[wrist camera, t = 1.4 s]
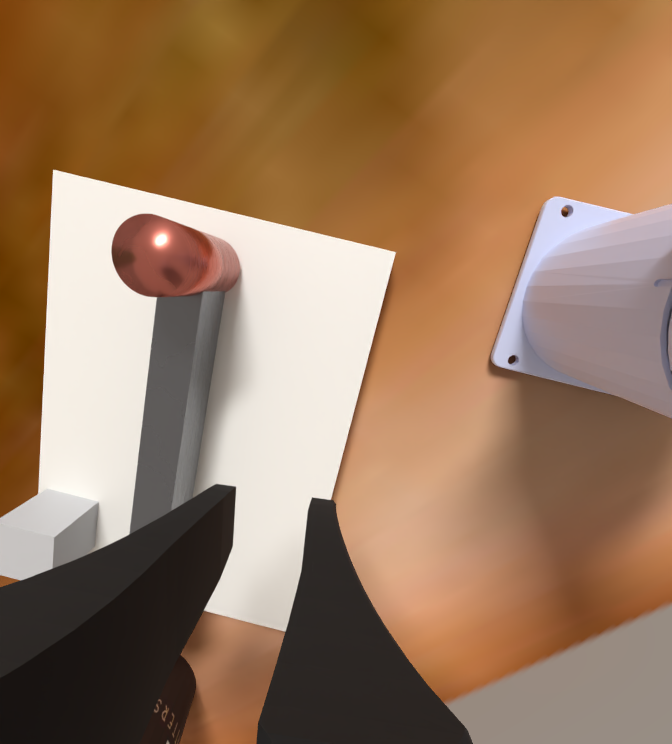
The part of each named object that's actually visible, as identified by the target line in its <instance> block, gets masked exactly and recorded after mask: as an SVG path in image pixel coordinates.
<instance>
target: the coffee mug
mask: <svg viewBox="0 0 672 744" xmlns="http://www.w3.org/2000/svg"><path fill="white" fill-rule="evenodd" d="M195 688H196V681H195V677H194V673H193V671H192V669H191V667H190V665H189V664H188V663H187V662H186V660H185V659H184V658H183V657H182V656H181V655H180V656H179V658H178V659H177V661H176V663H175V665H174V667H173V669H172V671H171V674H170V676H169V678H168V680H167V682H166V684H165V686H164V688H163V691H162V693H161V695H160V698H159V700H158V702H157V705H156V707H155V709H154V712H153V714H152V716H151V718H150V721H149V723H148V725H147V728H146V730H145V732H144V735H143V737H142V740H141V742H140V744H179V743H180V739H181V736H182V733H183V729H184V726H185V723H186V720H187V716H188V713H189V710H190V707H191V703H192V700H193V697H194V693H195Z"/></svg>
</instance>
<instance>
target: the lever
mask: <svg viewBox="0 0 672 744" xmlns="http://www.w3.org/2000/svg"><path fill="white" fill-rule="evenodd" d="M111 253H112V260H113V264H114V267H115V270H116V272H117V274H118V275H119V277H120V279H121V280H122V281H123V282H124V283H125V284H126V285H127V286H128V287H129V288H130V289H131V290H133V291H134V292H136V293H138V294H140V295H143V296H147V297H157V300H156V309H155V317H154V326H153V335H152V343H151V352H150V360H149V369H148V378H147V386H146V395H145V403H144V412H143V421H142V429H141V438H140V446H139V455H138V464H137V472H136V481H135V489H134V498H133V507H132V515H131V524H130V532H129V534H131V533H133V532H135V531H136V530H138V529H140V528H142V527H144V526H146V525H147V524H149V523H151V522H153V521H155V520H157V519H158V518H160V517H162V516H164V515H165V514H167V513H169V512H170V511H172V510H174V509H175V508H177V507H179V506H180V505H182V504H184V503H185V502H187V501H188V500H190V499H192V498H193V492H194V485H195V479H196V473H197V467H198V460H199V454H200V448H201V442H202V435H203V429H204V423H205V416H206V410H207V404H208V398H209V391H210V385H211V379H212V373H213V366H214V360H215V354H216V348H217V341H218V335H219V329H220V323H221V316H222V310H223V304H224V298H225V293H226V292H228V291H229V290H230V289H231V288H232V287H233V286H234V285H235V284H236V282H237V280H238V277H239V273H240V263H239V259H238V256H237V254H236V252H235V250H234V249H233V247H232V246H231V245H230V244H229V243H227V242H226V241H224V240H223V239H221V238H218V237H215V236H212V235H210V234H207V233H204V232H202V231H199V230H196V229H193V228H191V227H188V226H185V225H183V224H180V223H177V222H174V221H172V220H169V219H166V218H163V217H161V216H158V215H155V214H138V215H134V216H132V217H130V218H128V219H127V220H125V221H124V222H123V223H122V224H121V225H120V226H119V228H118V229H117V231H116V233H115V235H114V238H113V241H112V249H111Z"/></svg>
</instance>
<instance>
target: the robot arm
mask: <svg viewBox="0 0 672 744" xmlns="http://www.w3.org/2000/svg"><path fill="white" fill-rule="evenodd" d="M563 207H566V208H567V209H568V215H567V217H563V216H562V214H561V209H562V208H563ZM512 355H515V357H516V360H515V362H514V363H512V364H509V363H508V358H509V357H510V356H512ZM491 361H492V363H493V364H494V365H496V366H498V367H501V368H505V369H509V370H513V371H517V372H521V373H525V374H529V375H533V376H537V377H541V378H545V379H550V380H554V381H558V382H562V383H566V384H570V385H574V386H578V387H582V388H586V389H590V390H594V391H599V392H603V393H607V394H611V395H615V396H618V397H621V398H623V399H626V400H628V401H630V402H633V403H635V404H638V405H640V406H642V407H645V408H647V409H650V410H652V411H655V412H657V413H659V414H662V415H664V416H667V417H669V418H671V419H672V204H669V205H666V206H662V207H658V208H655V209H651V210H648V211H644V212H641V213H637V214H630V213H626V212H621V211H617V210H613V209H609V208H604V207H600V206H596V205H592V204H588V203H583V202H579V201H575V200H571V199H566V198H562V197H554V198H551V199H549V200H547V201H546V202H545V203H544V204H543V206H542V208H541V211H540V214H539V216H538V219H537V222H536V225H535V228H534V231H533V234H532V237H531V240H530V243H529V246H528V249H527V251H526V254H525V257H524V260H523V263H522V266H521V269H520V272H519V275H518V278H517V281H516V283H515V286H514V289H513V292H512V295H511V298H510V301H509V304H508V307H507V310H506V313H505V315H504V318H503V321H502V324H501V327H500V330H499V333H498V336H497V339H496V342H495V345H494V347H493V350H492V353H491ZM235 500H236V487H235V486H228V485H221V484H215V485H213V486H211V487H210V488H208V489H206V490H205V491H203V492H201V493H200V494H198V495H196V496H195V497H193V498H192V499H190V500H188V501H187V502H185V503H184V504H182V505H180V506H179V507H177V508H175V509H174V510H172V511H170V512H169V513H167V514H165V515H164V516H162V517H160V518H158V519H157V520H155V521H153V522H151V523H149V524H147V525H146V526H144V527H142V528H140V529H138V530H136V531H135V532H133V533H131V534H129V535H127V536H125V537H123V538H121V539H119V540H117V541H115V542H113V543H111V544H109V545H107V546H105V547H103V548H101V549H98V550H96V551H94V552H92V553H89V554H87V555H85V556H83V557H80V558H78V559H76V560H73V561H71V562H68V563H66V564H63V565H60V566H58V567H55V568H53V569H50V570H47V571H45V572H42V573H40V574H37V575H34V576H32V577H29V578H27V579H24V580H21V581H18V582H15V583H12V584H9V585H6V586H3V587H0V744H140V742H141V740H142V737H143V735H144V732H145V730H146V728H147V725H148V723H149V721H150V718H151V716H152V714H153V712H154V709H155V707H156V705H157V702H158V700H159V698H160V695H161V693H162V691H163V688H164V686H165V684H166V682H167V680H168V678H169V676H170V674H171V671H172V669H173V667H174V665H175V663H176V661H177V659H178V658H179V656H180V654H181V652H182V650H183V648H184V646H185V644H186V643H187V641H188V639H189V637H190V635H191V633H192V631H193V630H194V628H195V626H196V624H197V622H198V620H199V618H200V616H201V615H202V613H203V611H204V609H205V607H206V605H207V603H208V601H209V600H210V598H211V596H212V594H213V592H214V590H215V588H216V586H217V584H218V582H219V580H220V578H221V576H222V573H223V571H224V568H225V566H226V563H227V561H228V558H229V555H230V553H231V550H232V547H233V536H234V518H235ZM257 744H473V743H472V740H471V738H470V735H469V733H468V731H467V729H466V728H465V726H464V725H463V724H462V723H461V722H460V721H459V720H458V719H457V717H456V716H455V715H454V714H453V713H452V712H451V711H450V710H449V709H448V707H447V706H446V705H445V704H444V703H443V702H442V701H441V700H440V698H439V697H438V696H437V695H436V694H435V693H434V692H433V691H432V689H431V688H430V687H429V686H428V685H427V684H426V682H425V681H424V680H423V678H422V677H421V676H420V674H419V673H418V672H417V671H416V669H415V668H414V667H413V665H412V664H411V663H410V662H409V660H408V659H407V657H406V656H405V654H404V653H403V652H402V650H401V649H400V647H399V646H398V644H397V643H396V641H395V640H394V638H393V637H392V636H391V634H390V633H389V631H388V630H387V628H386V627H385V625H384V624H383V622H382V620H381V619H380V617H379V615H378V614H377V612H376V610H375V608H374V607H373V605H372V603H371V601H370V599H369V598H368V596H367V594H366V592H365V590H364V588H363V586H362V584H361V582H360V580H359V578H358V576H357V573H356V571H355V569H354V567H353V564H352V562H351V559H350V557H349V554H348V552H347V549H346V546H345V543H344V540H343V537H342V534H341V531H340V527H339V523H338V518H337V513H336V504H335V503H334V501H333V500H327V499H320V498H313V497H312V499H311V502H310V505H309V508H308V514H307V523H306V532H305V542H304V551H303V560H302V569H301V574H300V578H299V582H298V586H297V590H296V594H295V598H294V602H293V606H292V610H291V613H290V617H289V621H288V625H287V628H286V632H285V636H284V639H283V643H282V646H281V650H280V653H279V657H278V660H277V664H276V667H275V670H274V674H273V677H272V680H271V684H270V687H269V690H268V693H267V697H266V700H265V703H264V706H263V710H262V713H261V716H260V719H259V722H258V732H257Z"/></svg>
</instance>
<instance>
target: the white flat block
mask: <svg viewBox="0 0 672 744" xmlns="http://www.w3.org/2000/svg"><path fill="white" fill-rule="evenodd" d="M138 214H155V215H158V216H161V217H163V218H166V219H169V220H172V221H174V222H177V223H180V224H183V225H185V226H188V227H191V228H193V229H196V230H199V231H202V232H204V233H207V234H210V235H212V236H215V237H218V238H221V239H223V240H224V241H226V242H227V243H229V244H230V245H231V246H232V247H233V249H234V250H235V252H236V254H237V256H238V259H239V263H240V273H239V277H238V280H237V282H236V284H235V285H234V286H233V287H232V288H231V289H230V290H229V291H228V292H226V293H225V298H224V304H223V310H222V316H221V323H220V329H219V335H218V341H217V348H216V354H215V360H214V366H213V373H212V379H211V385H210V391H209V398H208V404H207V410H206V416H205V423H204V429H203V435H202V442H201V448H200V454H199V460H198V467H197V473H196V479H195V485H194V492H193V497H195V496H196V495H198V494H200V493H201V492H203V491H205V490H206V489H208V488H210V487H211V486H213V485H215V484H221V485H228V486H235V487H236V500H235V518H234V536H233V547H232V550H231V553H230V555H229V558H228V561H227V563H226V566H225V568H224V571H223V573H222V576H221V578H220V580H219V582H218V584H217V586H216V588H215V590H214V592H213V594H212V596H211V598H210V600H209V601H208V603H207V605H206V607H205V609H204V611H207V612H211V613H215V614H219V615H223V616H227V617H230V618H234V619H238V620H242V621H246V622H250V623H254V624H257V625H261V626H265V627H269V628H273V629H277V630H281V631H284V632H286V628H287V625H288V621H289V617H290V613H291V610H292V606H293V602H294V598H295V594H296V590H297V586H298V582H299V578H300V574H301V569H302V560H303V551H304V542H305V532H306V523H307V514H308V508H309V505H310V502H311V499H312V497H313V498H320V499H327V500H331V497H332V493H333V490H334V486H335V482H336V478H337V474H338V471H339V467H340V463H341V459H342V455H343V451H344V448H345V444H346V440H347V436H348V432H349V429H350V425H351V421H352V417H353V413H354V409H355V406H356V402H357V398H358V394H359V390H360V387H361V383H362V379H363V375H364V371H365V368H366V364H367V360H368V356H369V352H370V348H371V345H372V341H373V337H374V333H375V329H376V326H377V322H378V318H379V314H380V310H381V307H382V303H383V299H384V295H385V291H386V287H387V284H388V280H389V276H390V272H391V268H392V265H393V261H394V257H395V253H396V252H392V251H388V250H384V249H380V248H376V247H372V246H368V245H363V244H359V243H355V242H351V241H347V240H343V239H339V238H334V237H330V236H326V235H322V234H318V233H314V232H309V231H305V230H301V229H297V228H293V227H289V226H285V225H280V224H276V223H272V222H268V221H264V220H260V219H256V218H251V217H247V216H243V215H239V214H235V213H231V212H226V211H222V210H218V209H214V208H210V207H206V206H202V205H197V204H193V203H189V202H185V201H181V200H177V199H173V198H168V197H164V196H160V195H156V194H152V193H148V192H144V191H139V190H135V189H131V188H127V187H123V186H119V185H114V184H110V183H106V182H102V181H98V180H94V179H90V178H85V177H81V176H77V175H73V174H69V173H65V172H61V171H56V170H53V188H52V210H51V231H50V253H49V275H48V297H47V318H46V340H45V362H44V384H43V405H42V427H41V449H40V470H39V492H38V495H36V496H35V497H33V498H31V499H30V500H28V501H27V502H25V503H24V504H22V505H20V506H19V507H17V508H16V509H14V510H12V511H11V512H9V513H8V514H6V515H4V516H3V517H1V518H0V575H3V576H6V577H10V578H14V579H18V580H24V579H27V578H29V577H32V576H34V575H37V574H40V573H42V572H45V571H47V570H50V569H53V568H55V567H58V566H60V565H63V564H66V563H68V562H71V561H73V560H76V559H78V558H80V557H83V556H85V555H87V554H89V553H92V552H94V551H96V550H98V549H101V548H103V547H105V546H107V545H109V544H111V543H113V542H115V541H117V540H119V539H121V538H123V537H125V536H127V535H129V532H130V524H131V515H132V507H133V498H134V489H135V481H136V472H137V464H138V455H139V446H140V438H141V429H142V421H143V412H144V403H145V395H146V386H147V378H148V369H149V360H150V352H151V343H152V335H153V326H154V317H155V309H156V300H157V297H147V296H143V295H140V294H138V293H136V292H134V291H133V290H131V289H130V288H129V287H128V286H127V285H126V284H125V283H124V282H123V281H122V280H121V279H120V277H119V275H118V274H117V272H116V270H115V267H114V264H113V260H112V253H111V249H112V241H113V238H114V235H115V233H116V231H117V229H118V228H119V226H120V225H121V224H122V223H123V222H124V221H125V220H127V219H128V218H130V217H132V216H134V215H138Z"/></svg>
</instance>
